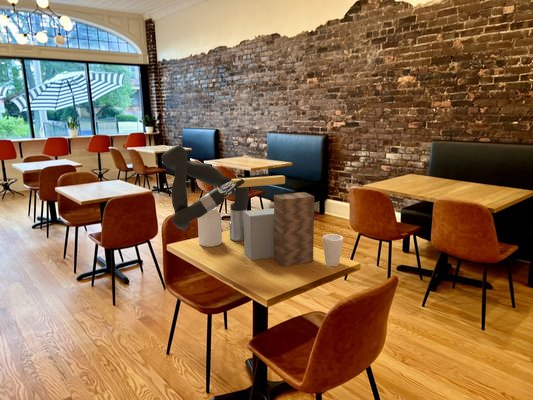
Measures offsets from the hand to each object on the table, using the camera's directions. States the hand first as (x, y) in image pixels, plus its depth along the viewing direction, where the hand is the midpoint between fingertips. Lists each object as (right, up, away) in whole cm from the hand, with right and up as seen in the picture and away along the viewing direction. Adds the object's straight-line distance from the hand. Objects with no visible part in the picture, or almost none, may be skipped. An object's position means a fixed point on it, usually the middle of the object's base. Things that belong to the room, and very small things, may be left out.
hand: (242, 179), depth 187 cm
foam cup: (+42, -40, +1) cm, 58 cm away
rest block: (+10, -37, +13) cm, 40 cm away
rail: (+8, -2, +4) cm, 9 cm away
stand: (+25, -39, +5) cm, 46 cm away
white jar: (-19, -33, +30) cm, 49 cm away
